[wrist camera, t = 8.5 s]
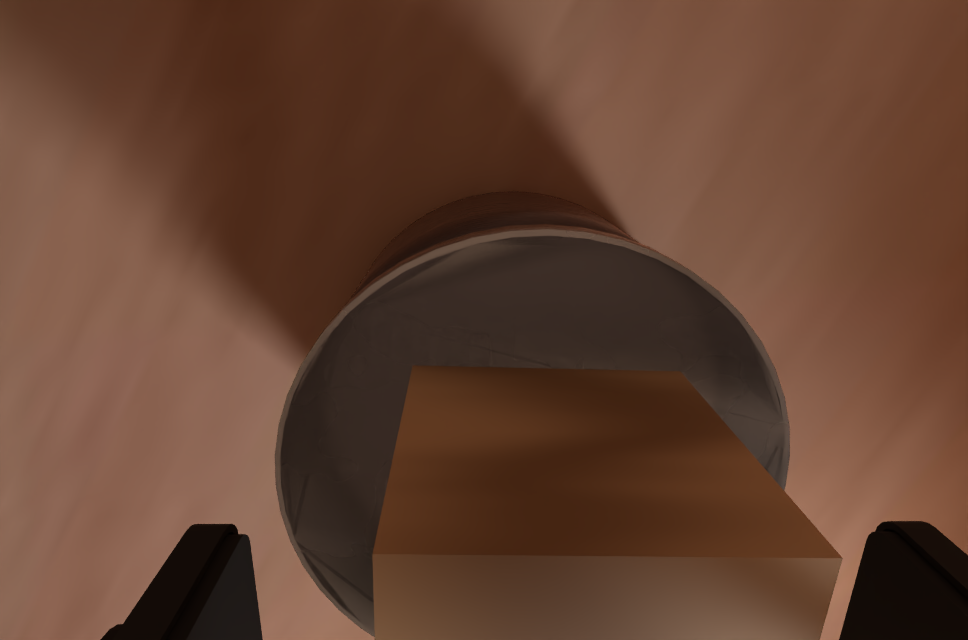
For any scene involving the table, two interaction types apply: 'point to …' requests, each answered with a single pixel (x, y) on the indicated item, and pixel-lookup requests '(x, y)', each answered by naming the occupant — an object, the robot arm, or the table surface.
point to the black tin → (495, 355)
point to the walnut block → (586, 516)
